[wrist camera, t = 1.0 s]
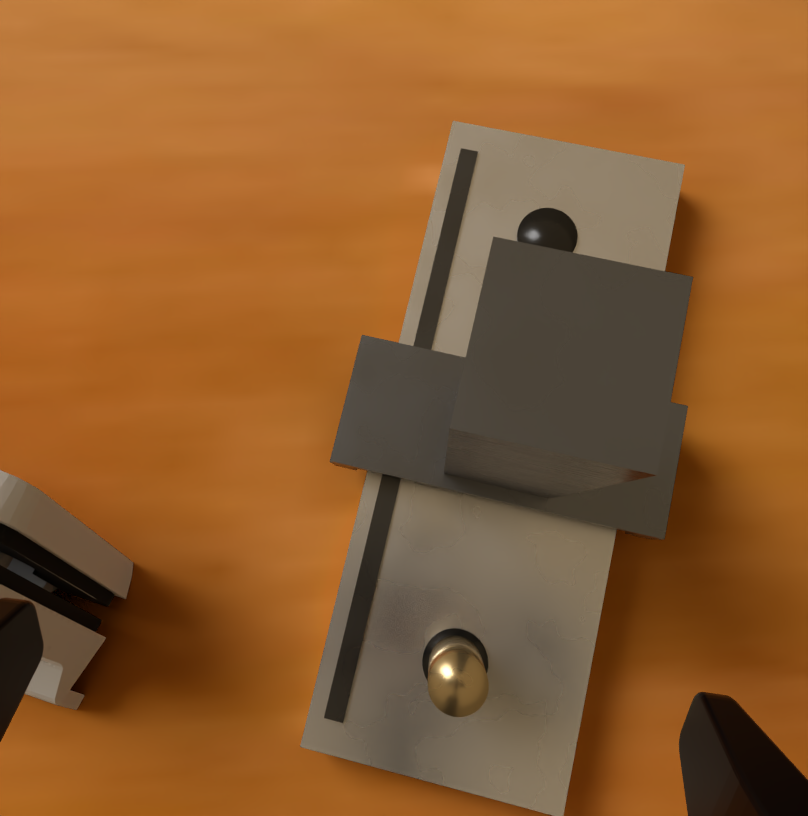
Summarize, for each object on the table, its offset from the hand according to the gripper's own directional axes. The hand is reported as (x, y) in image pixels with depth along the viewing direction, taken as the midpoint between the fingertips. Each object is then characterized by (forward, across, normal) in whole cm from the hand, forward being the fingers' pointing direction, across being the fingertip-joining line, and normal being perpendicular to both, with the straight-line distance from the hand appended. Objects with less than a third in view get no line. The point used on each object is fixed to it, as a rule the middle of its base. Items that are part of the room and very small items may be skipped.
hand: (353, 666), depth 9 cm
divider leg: (+13, -3, +4) cm, 14 cm away
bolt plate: (+14, -3, +4) cm, 15 cm away
